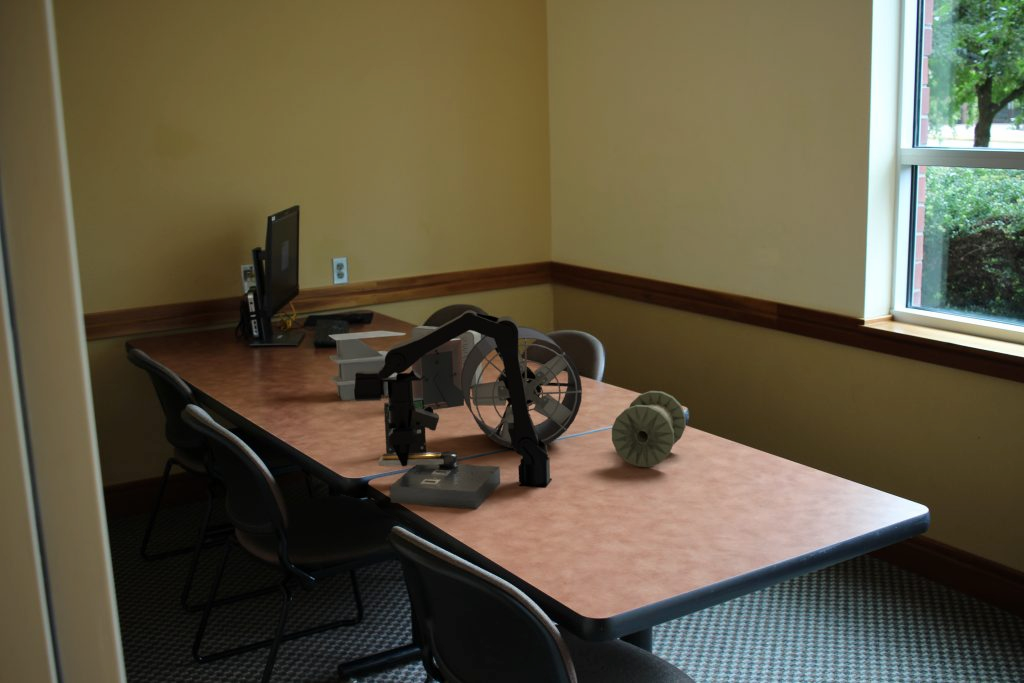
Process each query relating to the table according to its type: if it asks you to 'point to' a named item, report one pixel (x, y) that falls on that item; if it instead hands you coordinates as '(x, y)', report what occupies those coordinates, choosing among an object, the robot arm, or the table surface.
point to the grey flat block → (446, 486)
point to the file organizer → (357, 360)
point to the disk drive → (421, 438)
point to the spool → (648, 428)
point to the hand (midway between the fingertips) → (404, 465)
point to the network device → (466, 342)
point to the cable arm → (422, 459)
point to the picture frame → (440, 376)
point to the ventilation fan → (498, 391)
